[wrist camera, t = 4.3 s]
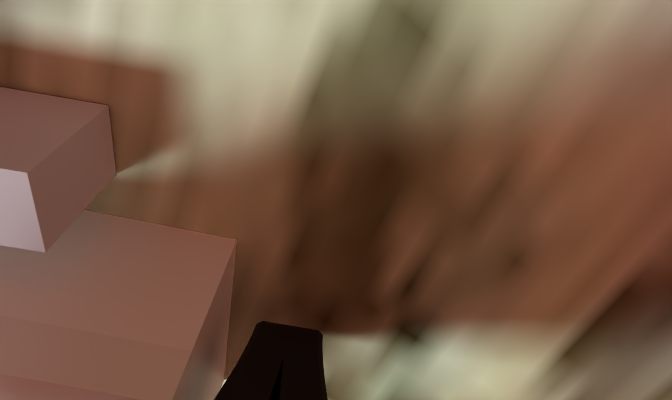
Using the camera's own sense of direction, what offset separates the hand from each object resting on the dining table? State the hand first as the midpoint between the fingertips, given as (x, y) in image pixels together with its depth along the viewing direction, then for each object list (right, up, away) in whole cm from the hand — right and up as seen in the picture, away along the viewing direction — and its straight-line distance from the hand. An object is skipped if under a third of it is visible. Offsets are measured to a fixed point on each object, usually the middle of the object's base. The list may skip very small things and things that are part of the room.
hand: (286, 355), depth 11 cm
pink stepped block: (-4, +1, +1) cm, 5 cm away
